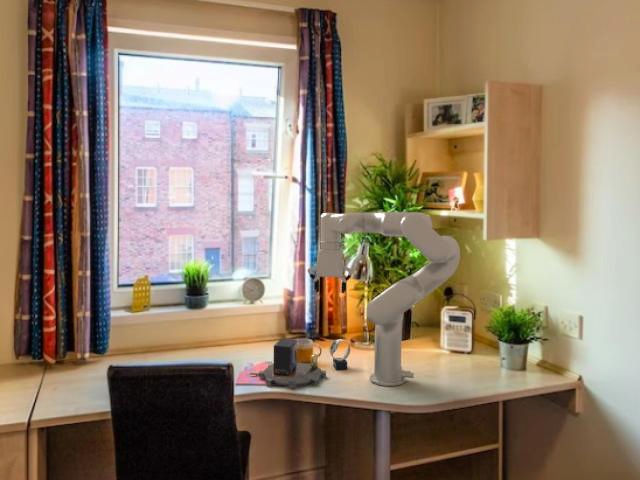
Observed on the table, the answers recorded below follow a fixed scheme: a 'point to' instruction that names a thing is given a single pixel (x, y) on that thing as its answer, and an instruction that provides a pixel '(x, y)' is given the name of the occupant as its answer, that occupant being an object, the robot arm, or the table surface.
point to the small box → (285, 356)
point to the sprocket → (295, 375)
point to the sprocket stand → (254, 373)
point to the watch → (339, 362)
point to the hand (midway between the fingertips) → (330, 292)
